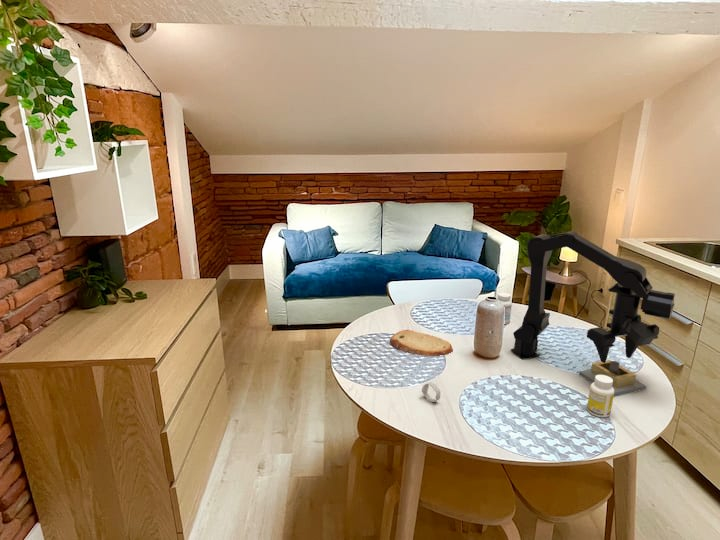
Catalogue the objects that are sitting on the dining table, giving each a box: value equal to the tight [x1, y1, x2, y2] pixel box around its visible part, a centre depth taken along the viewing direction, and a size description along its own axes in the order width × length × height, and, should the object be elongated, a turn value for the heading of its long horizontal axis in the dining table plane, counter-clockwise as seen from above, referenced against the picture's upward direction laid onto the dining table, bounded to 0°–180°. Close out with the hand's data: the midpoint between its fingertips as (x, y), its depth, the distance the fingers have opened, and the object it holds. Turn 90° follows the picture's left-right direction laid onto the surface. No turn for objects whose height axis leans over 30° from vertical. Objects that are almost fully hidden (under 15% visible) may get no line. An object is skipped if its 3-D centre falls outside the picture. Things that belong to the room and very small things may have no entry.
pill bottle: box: [495, 292, 513, 325], centre depth 165 cm, size 6×6×11 cm
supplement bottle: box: [586, 375, 615, 418], centre depth 111 cm, size 5×5×10 cm
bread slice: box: [389, 329, 454, 357], centre depth 148 cm, size 18×18×4 cm
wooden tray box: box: [590, 359, 637, 388], centre depth 125 cm, size 7×9×3 cm
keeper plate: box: [578, 360, 647, 397], centre depth 125 cm, size 12×12×6 cm
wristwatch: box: [421, 381, 441, 403], centre depth 117 cm, size 3×5×5 cm, turn 41°
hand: (615, 359), depth 124 cm, fingers open, 9 cm apart
